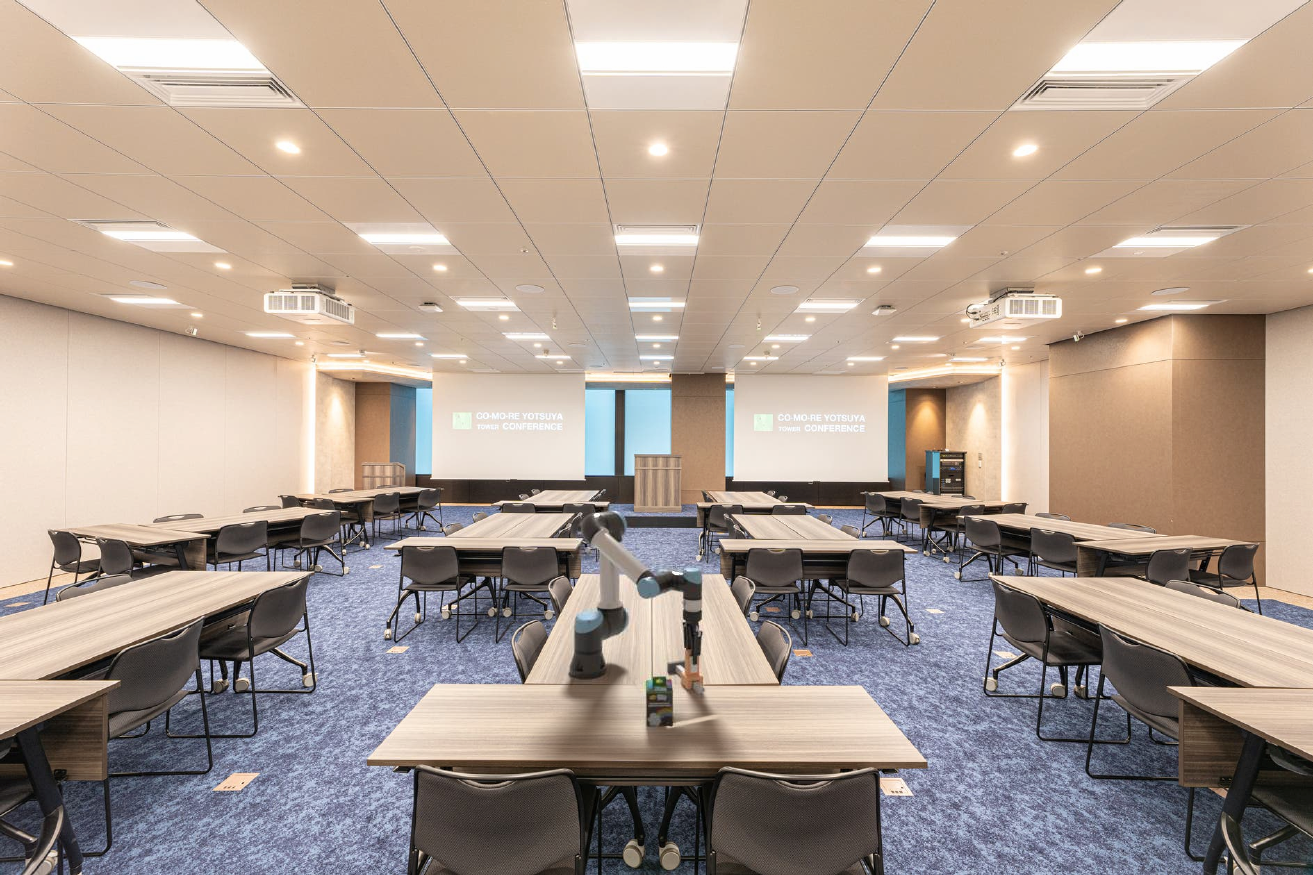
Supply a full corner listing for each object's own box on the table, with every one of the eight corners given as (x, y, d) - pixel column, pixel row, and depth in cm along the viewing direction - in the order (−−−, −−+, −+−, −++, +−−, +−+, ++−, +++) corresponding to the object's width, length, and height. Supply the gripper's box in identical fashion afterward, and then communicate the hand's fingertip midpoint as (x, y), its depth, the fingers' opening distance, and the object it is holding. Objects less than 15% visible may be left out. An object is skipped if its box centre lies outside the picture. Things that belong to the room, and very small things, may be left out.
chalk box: (671, 712, 172) (672, 669, 173) (673, 726, 163) (674, 681, 163) (645, 712, 172) (645, 669, 172) (645, 726, 162) (646, 681, 163)
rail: (661, 673, 203) (661, 661, 204) (687, 668, 208) (688, 657, 208) (687, 700, 180) (687, 688, 180) (716, 695, 185) (716, 683, 185)
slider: (680, 682, 192) (681, 648, 193) (696, 680, 195) (696, 646, 195) (687, 689, 187) (687, 654, 187) (703, 686, 189) (703, 652, 190)
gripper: (675, 604, 198) (675, 664, 197) (692, 616, 183) (691, 680, 182) (692, 602, 201) (692, 661, 199) (710, 613, 186) (710, 677, 185)
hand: (692, 670), depth 191 cm, fingers closed on slider, 2 cm apart
